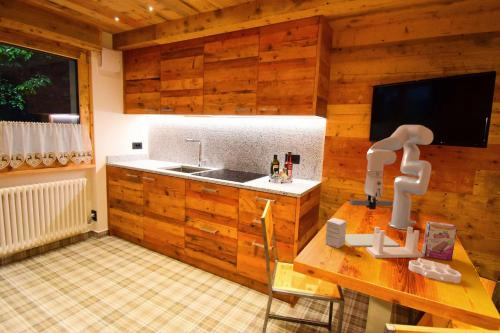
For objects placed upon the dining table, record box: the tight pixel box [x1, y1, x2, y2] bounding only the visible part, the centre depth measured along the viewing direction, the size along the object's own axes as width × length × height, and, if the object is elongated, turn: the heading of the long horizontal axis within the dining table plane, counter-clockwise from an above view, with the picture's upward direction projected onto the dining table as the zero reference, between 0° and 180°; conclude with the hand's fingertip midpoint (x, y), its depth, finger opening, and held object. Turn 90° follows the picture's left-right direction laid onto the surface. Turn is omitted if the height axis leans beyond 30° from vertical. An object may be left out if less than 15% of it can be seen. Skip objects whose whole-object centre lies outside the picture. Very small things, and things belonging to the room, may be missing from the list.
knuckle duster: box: [408, 257, 462, 284], centre depth 114 cm, size 3×18×15 cm
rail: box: [349, 199, 394, 207], centre depth 142 cm, size 22×2×2 cm, turn 95°
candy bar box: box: [421, 220, 458, 262], centre depth 127 cm, size 11×5×16 cm, turn 71°
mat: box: [345, 233, 400, 248], centre depth 145 cm, size 26×14×1 cm, turn 95°
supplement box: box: [325, 217, 347, 249], centre depth 138 cm, size 7×7×13 cm
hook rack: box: [365, 226, 424, 259], centre depth 130 cm, size 24×8×12 cm, turn 95°
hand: (370, 208), depth 142 cm, fingers closed on rail, 2 cm apart
